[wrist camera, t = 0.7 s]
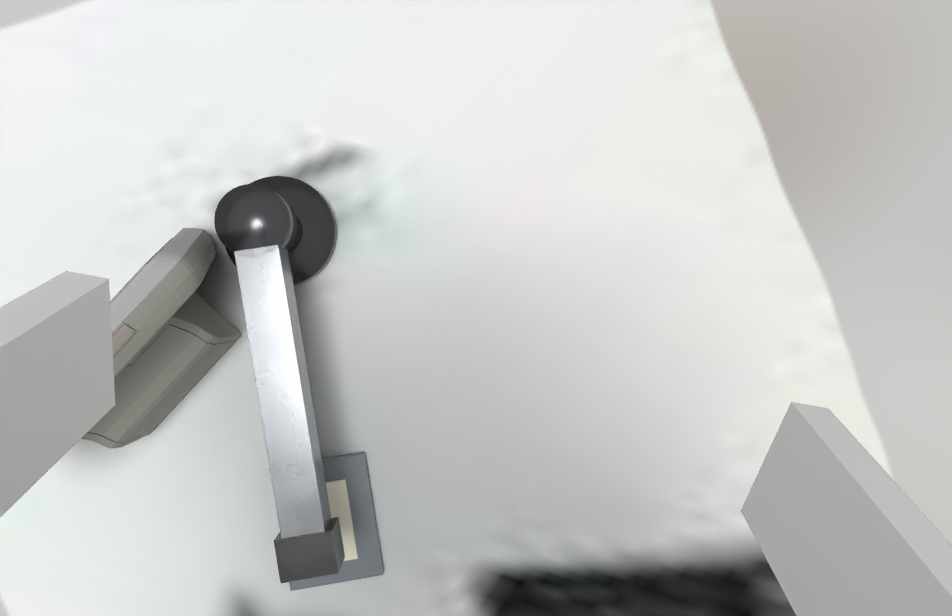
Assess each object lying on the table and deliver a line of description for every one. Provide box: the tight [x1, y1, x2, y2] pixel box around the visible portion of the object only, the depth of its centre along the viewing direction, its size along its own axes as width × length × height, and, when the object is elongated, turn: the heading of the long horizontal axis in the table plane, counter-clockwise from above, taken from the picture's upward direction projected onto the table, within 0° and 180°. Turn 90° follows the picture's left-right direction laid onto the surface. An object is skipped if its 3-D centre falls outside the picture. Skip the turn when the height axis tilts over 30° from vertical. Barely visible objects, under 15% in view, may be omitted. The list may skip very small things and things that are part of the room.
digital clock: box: [81, 228, 241, 448], centre depth 35 cm, size 16×9×11 cm, turn 126°
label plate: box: [289, 452, 384, 591], centre depth 40 cm, size 8×6×1 cm
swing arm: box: [215, 184, 345, 583], centre depth 35 cm, size 22×4×2 cm, turn 9°
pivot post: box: [226, 176, 337, 285], centre depth 38 cm, size 7×7×4 cm
